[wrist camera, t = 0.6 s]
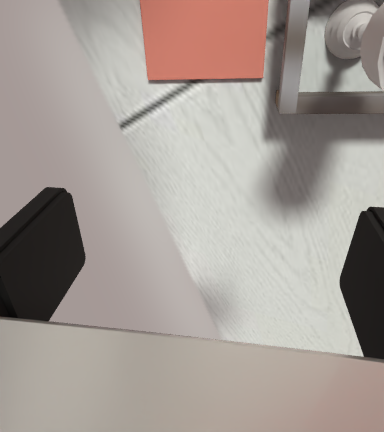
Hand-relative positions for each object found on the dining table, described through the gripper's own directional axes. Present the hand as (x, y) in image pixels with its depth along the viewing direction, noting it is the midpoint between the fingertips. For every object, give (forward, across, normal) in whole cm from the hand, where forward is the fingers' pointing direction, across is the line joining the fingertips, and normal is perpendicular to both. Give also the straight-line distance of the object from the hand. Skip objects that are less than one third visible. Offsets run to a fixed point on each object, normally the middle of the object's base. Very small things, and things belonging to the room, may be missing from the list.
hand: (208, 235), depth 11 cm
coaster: (+28, +3, -6) cm, 29 cm away
